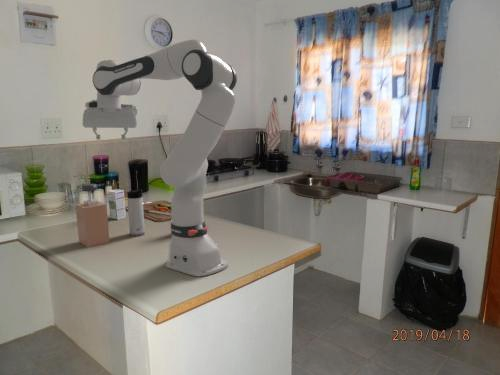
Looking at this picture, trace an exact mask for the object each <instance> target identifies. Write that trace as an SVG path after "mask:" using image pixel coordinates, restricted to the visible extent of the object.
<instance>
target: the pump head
mask: <svg viewBox="0 0 500 375" xmlns="http://www.w3.org/2000/svg"><path fill="white" fill-rule="evenodd" d="M97 190H98V184H96V183H81V191H82V192H87V197H88V200H89V202H91V201H93V200H94V199H93V192H94V191H97ZM92 199H93V200H92Z"/></svg>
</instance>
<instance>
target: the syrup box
mask: <svg viewBox="0 0 500 375" xmlns="http://www.w3.org/2000/svg"><path fill="white" fill-rule="evenodd" d="M107 195H108V205H109V206H108V207H109V218H110V219H112V220H118V221H119V220H123V219H125V218H127V214H126V213H127V211H126V210H125V207H126V202H125V200H126V198H125V191H124V190H123V189H118V188H115V189H109V190H108V191H107Z"/></svg>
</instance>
